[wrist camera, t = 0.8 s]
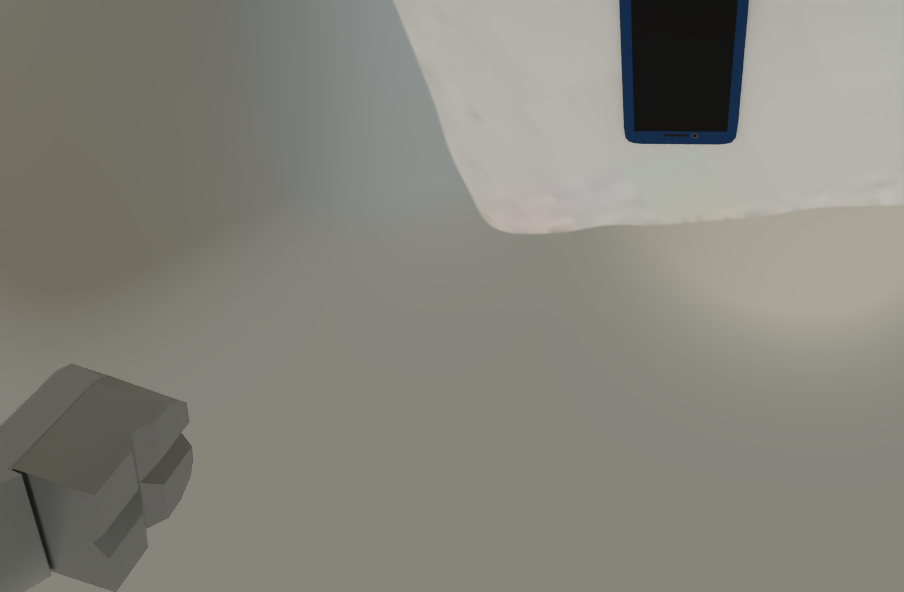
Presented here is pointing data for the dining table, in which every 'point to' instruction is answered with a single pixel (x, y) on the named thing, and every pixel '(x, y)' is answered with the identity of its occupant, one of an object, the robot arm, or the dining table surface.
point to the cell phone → (682, 69)
